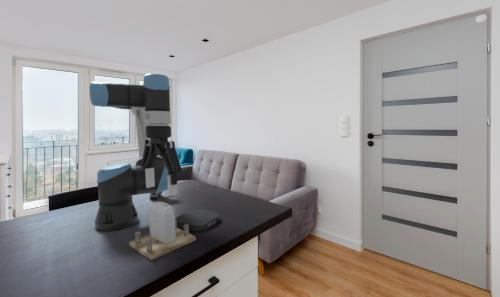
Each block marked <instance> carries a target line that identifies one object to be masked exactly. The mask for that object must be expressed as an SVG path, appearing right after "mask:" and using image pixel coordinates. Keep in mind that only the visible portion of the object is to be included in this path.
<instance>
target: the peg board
mask: <svg viewBox="0 0 500 297" xmlns="http://www.w3.org/2000/svg"><path fill="white" fill-rule="evenodd" d="M141 233H142V232H141V231H135V232H134V239H132V240H129V241H128V246H130V247H131V248H132V249H134V250H135V251H137V252H138V253H139V254H141V255H143V256H144V257H146V258H147V259H148V260H150V261H152V260H153V261H154V260H155V259H157V258H159V257H162V256H164V255H166V254H169V253H171V252H173V251H175V250H177V249H179V248H181V247H184V246H185V245H188V244H191V243H193V242H195V241H197V236H195V235H193V234H191V233H190V230H189V225H188V224H186V225H184V228H183V229H182V228H180V227H177V220H176V218H175V233H176V239H175V241H174V242H172V243H169V244H166V243H163V242H161V241H158V240H156V239H154V238H152V237H151V236H150V233H149V234H146V235H143V236H142V235H141Z"/></svg>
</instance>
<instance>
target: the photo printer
mask: <svg viewBox="0 0 500 297" xmlns="http://www.w3.org/2000/svg"><path fill="white" fill-rule="evenodd" d="M175 213H176V212H175V208H173V206H171V205H170V204H168V203H166V202H163V201H154V202H152V203H150V204H149V206H148V219H149V220H148V221H149V222H148V223H149V234H150V236H151V237H152V238H154V239H156V240H158V241H161V242H163V243H166V244H169V243H172V242H174V241H175V239H176V233H175V219H176V215H175Z"/></svg>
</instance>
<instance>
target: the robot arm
mask: <svg viewBox="0 0 500 297" xmlns="http://www.w3.org/2000/svg"><path fill="white" fill-rule="evenodd" d="M170 94H171V86H170V78H169V77H168V76H167V75H166V74H165V75H164V74H161V73H160V74H159V73H147V74H145V75H144V76H143V83H142V84H131V83H117V82H105V81H98V82H97V81H91V82H90V83H89V101H90V103H91V105H92V106H94V107H102V108H106V107H107V108H108V107H109V108H115V109H120V110H130V111H131V113H132V115H134V117H135V124H136V127H135V128H136V135H137V136H136V137H137V147H138V158H139V159H138V160H137V161H136V162H135V166H132V164H131V163H130V162H122V163H115V164H111V165H106V166H103V167H102V168H100V169H98V171H97V173H96V174H97V176H96V177H97V180H96V184H97V191H98V194H97V195H98V210H97V212H96V216H95V218H94V228H95V229H96V230H98V231H104V232H106V231H107V232H108V231H117V230H121V229H126V228H128V227H131V226H133V225H134V224H136V223H137V222H138V221H139V213H138V210H137V209H136V206H135V204H134V201H133V196H138V195H139V196H140V195H146V194H150V193H155V192H156V193H158V192H161V191H163V192H166V191H167V193H168V194H167V196H169V197H171V196H175V195H178V174H179V173H182V170H183V169H182V165H181V163H180V160H179V157H178V154H177V150H176V144H175V141H174V140H169V138H171V137H172V127H171V124H172V119H171V116H172V115H171V95H170ZM165 190H166V191H165Z"/></svg>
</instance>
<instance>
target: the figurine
mask: <svg viewBox="0 0 500 297" xmlns="http://www.w3.org/2000/svg"><path fill="white" fill-rule="evenodd" d="M166 191H167V190H165V191H161V192H158V193H156V192H155V193H149V200H151V201H152V200H153V201H154V200H155V201H156V200H158V199H159V198H160V196H161V195H162V194H163V192H166Z"/></svg>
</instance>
